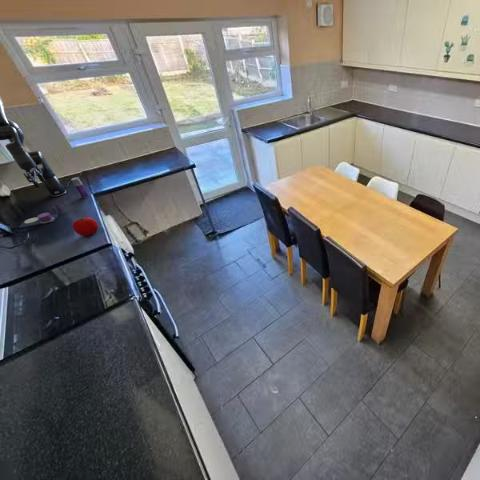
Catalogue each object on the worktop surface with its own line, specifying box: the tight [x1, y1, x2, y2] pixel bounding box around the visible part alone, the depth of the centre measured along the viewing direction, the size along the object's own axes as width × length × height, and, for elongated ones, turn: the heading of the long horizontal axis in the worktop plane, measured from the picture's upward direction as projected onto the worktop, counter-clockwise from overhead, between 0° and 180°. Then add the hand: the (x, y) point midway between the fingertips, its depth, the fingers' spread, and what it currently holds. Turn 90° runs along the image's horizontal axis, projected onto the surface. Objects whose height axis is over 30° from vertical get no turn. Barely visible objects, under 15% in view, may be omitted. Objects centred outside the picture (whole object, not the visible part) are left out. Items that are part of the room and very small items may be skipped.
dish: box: [37, 212, 53, 224], centre depth 180 cm, size 6×6×4 cm
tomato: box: [72, 216, 99, 237], centre depth 165 cm, size 12×12×11 cm
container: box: [70, 176, 90, 199], centre depth 203 cm, size 5×5×15 cm
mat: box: [17, 213, 60, 229], centre depth 181 cm, size 11×19×1 cm, turn 112°
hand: (41, 184), depth 177 cm, fingers open, 8 cm apart
